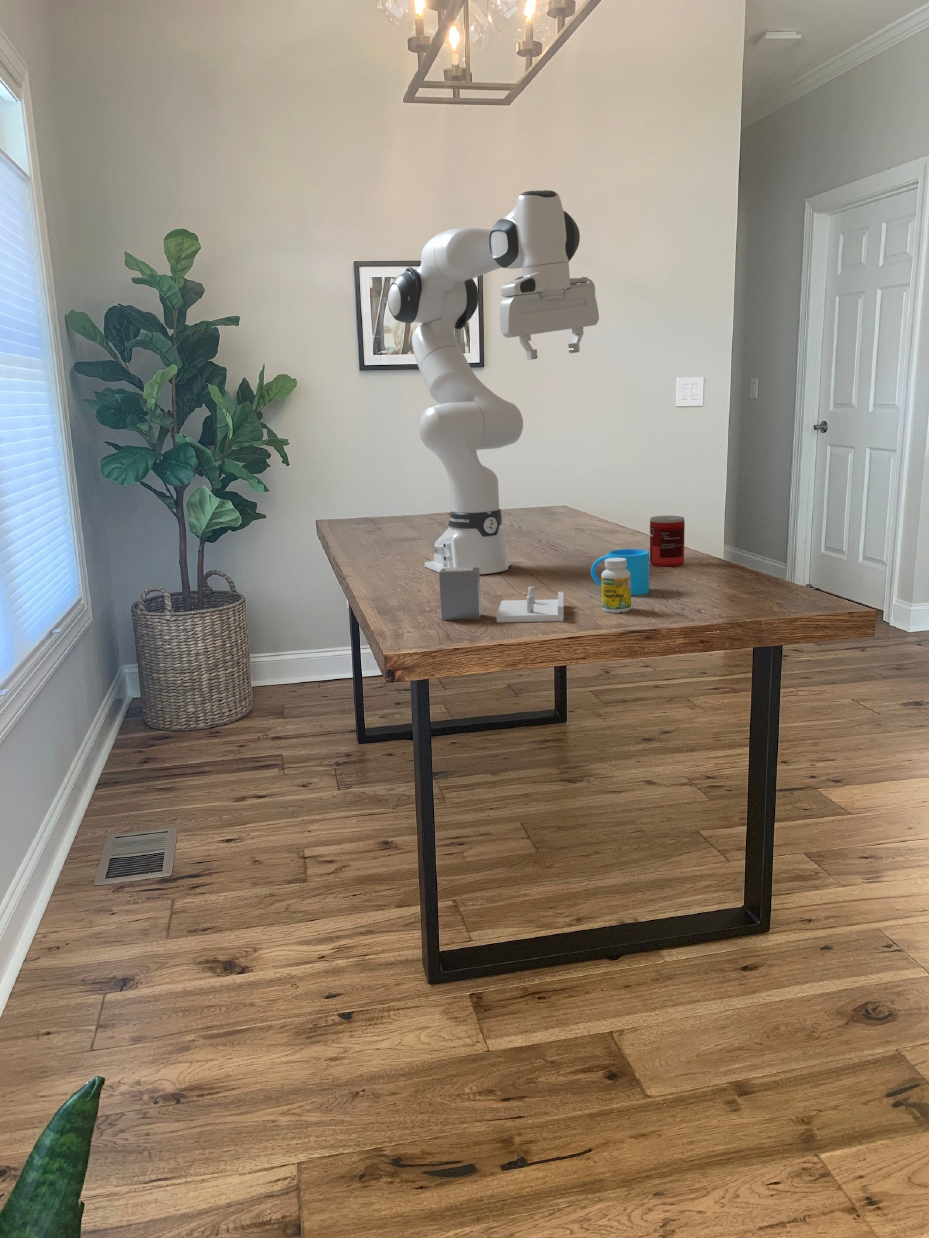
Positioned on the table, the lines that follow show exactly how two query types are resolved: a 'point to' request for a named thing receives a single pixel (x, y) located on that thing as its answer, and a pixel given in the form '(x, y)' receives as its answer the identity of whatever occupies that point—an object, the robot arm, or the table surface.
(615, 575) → the supplement bottle
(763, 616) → the table surface
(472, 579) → the block
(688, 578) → the table surface
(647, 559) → the mug
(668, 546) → the canned food
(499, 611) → the white pegged base
